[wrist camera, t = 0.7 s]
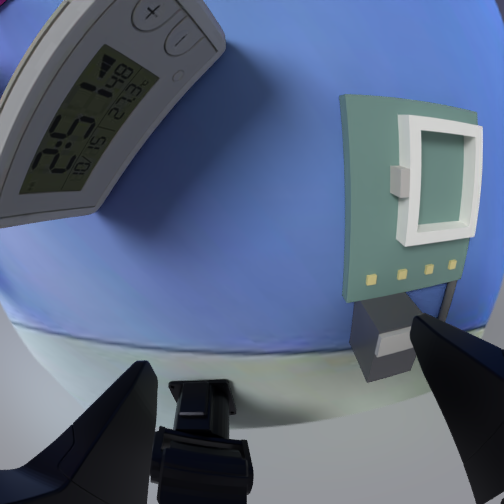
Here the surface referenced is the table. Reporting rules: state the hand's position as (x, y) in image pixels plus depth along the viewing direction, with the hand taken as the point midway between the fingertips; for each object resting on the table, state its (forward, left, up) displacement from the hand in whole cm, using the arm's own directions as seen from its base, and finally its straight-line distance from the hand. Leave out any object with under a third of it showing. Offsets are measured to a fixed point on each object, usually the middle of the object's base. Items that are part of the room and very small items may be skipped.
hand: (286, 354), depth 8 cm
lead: (-10, -19, -13) cm, 25 cm away
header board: (+1, -13, -13) cm, 18 cm away
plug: (-10, -10, -13) cm, 20 cm away
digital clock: (+10, +8, -13) cm, 18 cm away
